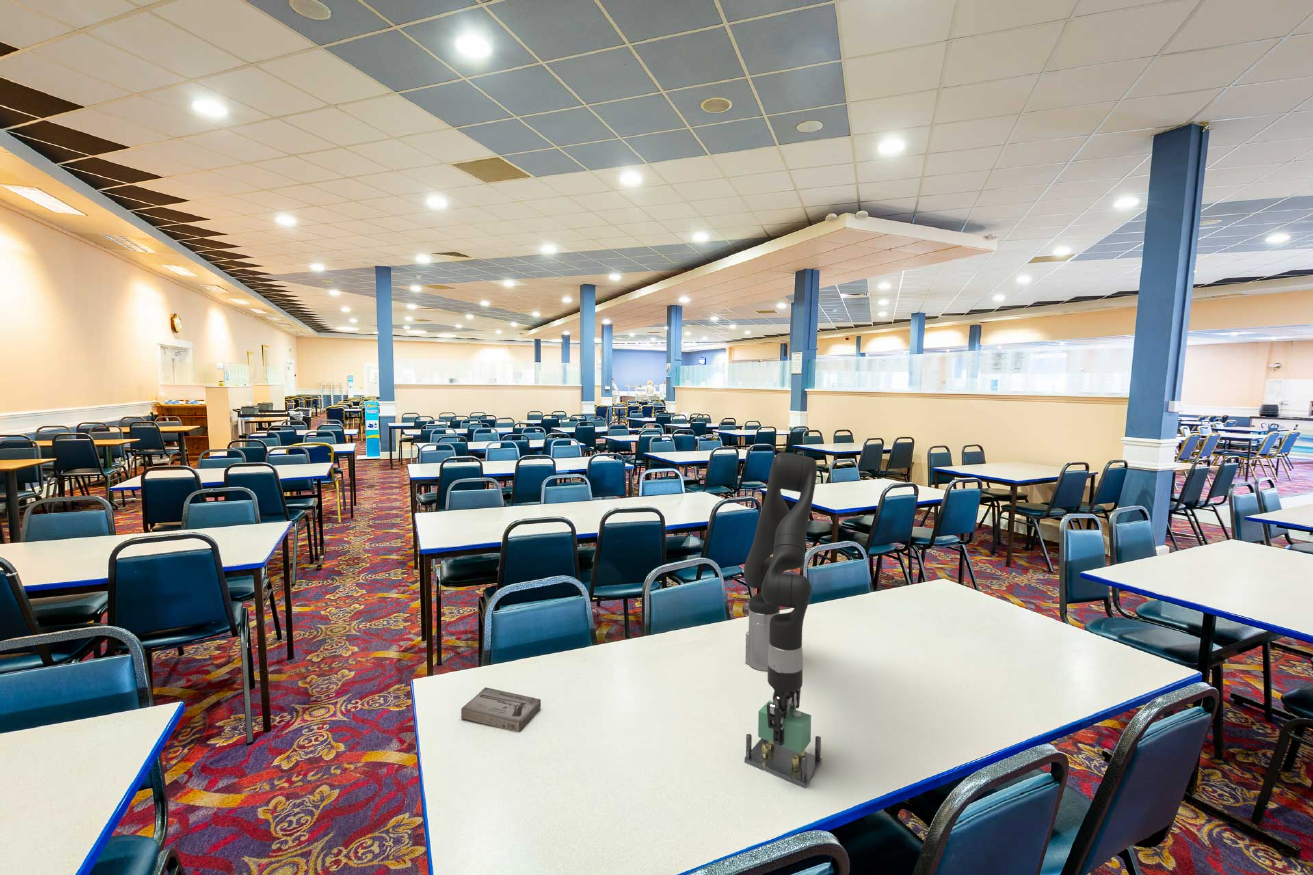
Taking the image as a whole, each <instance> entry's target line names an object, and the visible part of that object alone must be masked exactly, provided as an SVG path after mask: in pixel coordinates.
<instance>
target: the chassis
mask: <svg viewBox="0 0 1313 875" xmlns="http://www.w3.org/2000/svg"><path fill="white" fill-rule="evenodd" d="M745 735H746V737H745V756H744V763H745V764H747V765H750V766H753V767H756V768H757V769H759V770H762V771H764V772H765V773H769V774H770V775H773V776H776V777H778V778H780V779H783V780H786V781H787V782H789V783H792V784H795V785H797V786H800V787H802V788H803V789H806V787H807V786H808V785H809V783H810V781H811V780H812V778H813V776H814V775H815V773H816V772H817V771H818V769H819V767H820V766H821V764H822V762H823V761H822V756H821V755H822V753H821V752H822V751H821V750H822V737H821V736H820V735H816V736H815V740H814V741H815V742H814V744H815V746H814V754H812V753H810V752H807V751H806V750H805V749H806V748H805V749H804V751H803V752H802V753H801V754H799V753H797V752H794V751H792V750H789V749H787V748H784V747H782V746H779V745H777V744H774V743H772V742H769V741H767V740H765V739H762V738H760V739H759V740H758V742H757V743H756V744H755V745H754V746H752V743H753V741H752V740H753V739H752V737H753V736H752V734H751V733H747V734H745Z"/></svg>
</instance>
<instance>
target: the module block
mask: <svg viewBox="0 0 1313 875" xmlns="http://www.w3.org/2000/svg"><path fill="white" fill-rule="evenodd" d="M768 703H771V704H772V703H773V700H768V701H767V702H766V703H765V704H764V705H763V706H762V707H761V708H760V709H759V710H758V718H757V719H758V721H757V722H758V725H757V727H758V728H757V731H758V733H757V734H758V735H757V736H758V738H760V739H761V738H762V739H765V740H767V741H769V742H772V743H774V742H773V729H771V728H768V718H767V704H768ZM780 713H783V714H784V711H780ZM780 721H781V718H780ZM811 733H812V714H809V713H806V712H803V711H800V710H797V709H796V710H795V709H794V710H792V709H791V708H789V714H788V718H787V719H785V724H784V744H783V745H782V747H784V748H787V749H789V750H792V751H794V752H797V753H799V754H801V753H802V752H803V751H804V749H806V748H807V747H808V745H810V743H811V740H812V734H811ZM774 744H775V743H774ZM777 745H778V744H777ZM779 746H780V745H779Z"/></svg>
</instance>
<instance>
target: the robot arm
mask: <svg viewBox="0 0 1313 875" xmlns="http://www.w3.org/2000/svg"><path fill="white" fill-rule="evenodd" d="M817 466H818V464H817V462H816V460H815V459H814V458H813V457H809V456H806V455H802V454H796V453H790V452H778V453H777V454H775V456H774V458H773V459H772V463H771V466H770V470H769V476H768V483H767V486H766V493H765V496H764V501H763V504H762V508H761V510H760V515H759V518H758V521H757V525H756V529H755V534H754V538H753V542H752V545H751V548H750V550H749V552H748V555H747V557H746V561H745V564H744V566H743V567H744V568H743V580H744V582H745V584H746V585H747V586H748V587H750V588H753V589H760V590H761V591H760V592H759V593H757V594H755V595H753V596H751V597H750V598H749V601H748V631H747V632H745V664H747V665H748V666H750V667H751V668H752V669H755V670H757V671H763V672H767V683H768V684H769V687H771V688H772V690H773V694H772V698H771V699H772V702H773V703H772V704H771V703H768V704H767V718H768V728H771V729H773V742H774V743H775V744H778V745H780V746H782V745H783V744H784V724H785V719H787V718H788V714H789V708H791V709H792V710H794V709H795V710H797V709H799V707H800V705H801V704H800V701H801V693H802V692H801V690H802V686H803V680H804V678H803V675H804V674H803V672H804V671H803V669H804V654H803V627H804V626H803V625H804V619H805V616H806V615H805V614H806V612H807V608H808V606H809V603H810V600H811V597H812V591H813V590H812V584H811V582H810V580H809V579H808V578H807V577H806V576H804V575H803V574H802V575H800V574H792V573H791V574H790V573H784V572H786V571H787V572H788V571H791V570H797V569H801V568H802V567H803V565H804V564H805V560H806V544H807V532H808V525H809V520H810V516H811V515H810V514H811V510H812V505H813V499H814V493H815V488H816V483H817V477H818V476H817V472H818V467H817ZM781 490H785V491H791V492H795V493H800V494H799V497H798V500H797V502H796V503H795V504H794V506H793V507H791V508H792V509H791V510H790V508H789V506H788V505H787V502H786V501H785V499H784V498H783V495H782V491H781ZM781 607H783V608H790V609H791V608H792V610H791V611H789V612H784V613H781V612H780V611H781ZM780 711H784V714H783V713H780ZM780 718H781V721H780Z"/></svg>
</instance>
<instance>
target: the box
mask: <svg viewBox="0 0 1313 875" xmlns="http://www.w3.org/2000/svg"><path fill="white" fill-rule="evenodd" d="M541 701H542V700H541V699H540V698H535V697H532V696H526V695H522V694H518V693H513V692H509V691H504V690H499V689H494V688H490V687H484V688H482V689H481V691H479V692H478V693H477V694H476V695H475V696H474V697H473V698H472V699H470V700H469V701H468V702H467V703H466V704H465V705H463V706H462V707H461V710H460V711H461V712H460V714H461V716H460V717H461V719H463V720H468V721H470V722H471V721H472V722H476V723H480V724H484V725H487V726H491V727H496V728H500V729H503V730H508V731H511V732H516V733H520V732H521V731H522V730H523V729H525V727H526V725H527V724H528V723H529V722H530V721H532V720H533V719H534V717H535V716H536V715H537V713H539V712H540V711H541V707H542V702H541Z"/></svg>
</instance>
